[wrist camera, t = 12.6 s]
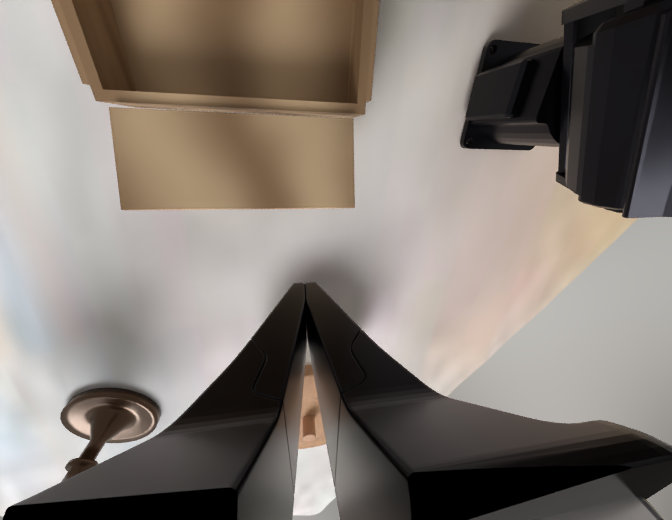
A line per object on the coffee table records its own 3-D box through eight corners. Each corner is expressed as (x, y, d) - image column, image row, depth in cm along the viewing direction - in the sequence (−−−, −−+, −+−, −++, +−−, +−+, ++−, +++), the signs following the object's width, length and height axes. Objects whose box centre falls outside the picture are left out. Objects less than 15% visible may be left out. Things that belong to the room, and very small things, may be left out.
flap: (354, 207, 14) (353, 207, 14) (353, 118, 14) (352, 121, 14) (121, 209, 12) (125, 210, 13) (109, 107, 12) (113, 110, 12)
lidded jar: (367, 323, 27) (399, 406, 19) (327, 383, 31) (339, 473, 23) (275, 296, 23) (265, 385, 15) (243, 368, 27) (221, 469, 19)
